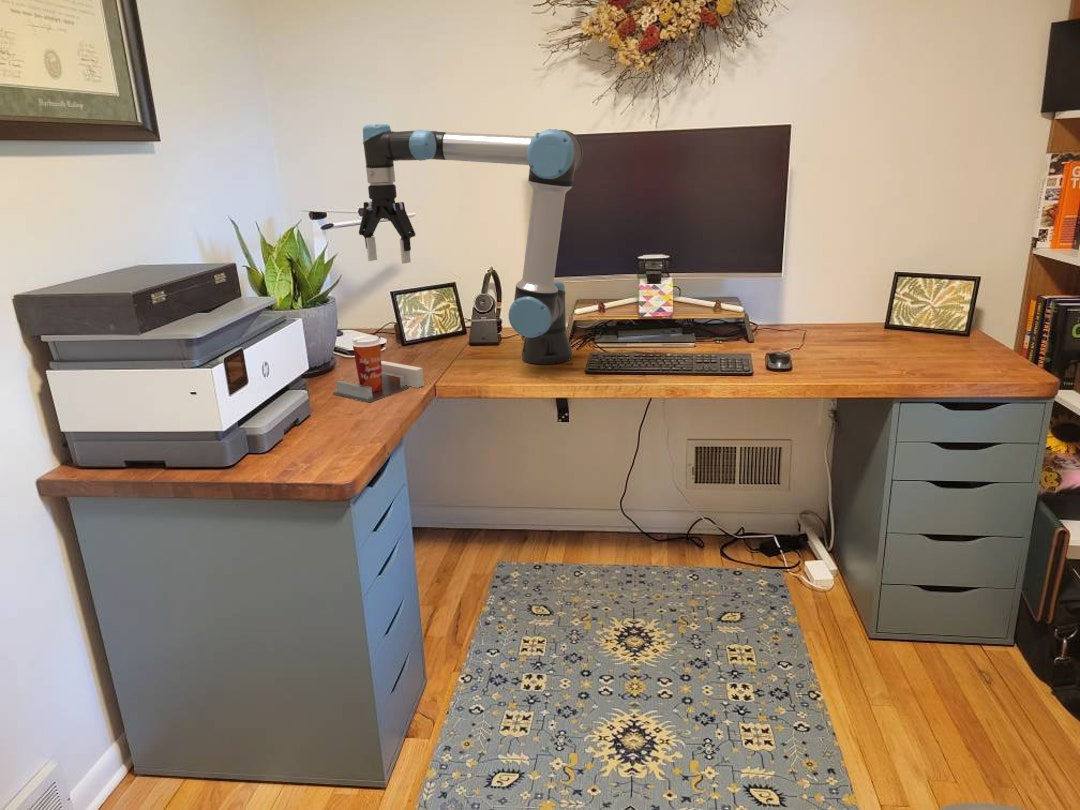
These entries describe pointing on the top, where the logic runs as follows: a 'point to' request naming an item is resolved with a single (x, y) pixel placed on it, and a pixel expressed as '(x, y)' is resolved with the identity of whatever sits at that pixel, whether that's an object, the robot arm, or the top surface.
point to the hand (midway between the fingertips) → (389, 261)
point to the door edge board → (405, 373)
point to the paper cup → (368, 361)
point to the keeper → (364, 393)
